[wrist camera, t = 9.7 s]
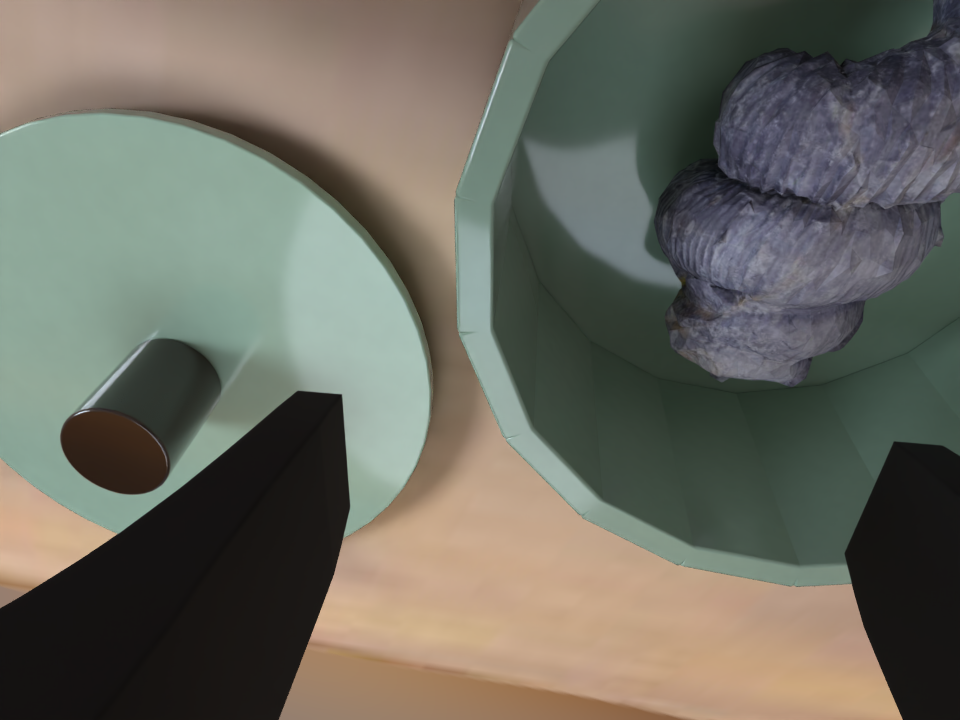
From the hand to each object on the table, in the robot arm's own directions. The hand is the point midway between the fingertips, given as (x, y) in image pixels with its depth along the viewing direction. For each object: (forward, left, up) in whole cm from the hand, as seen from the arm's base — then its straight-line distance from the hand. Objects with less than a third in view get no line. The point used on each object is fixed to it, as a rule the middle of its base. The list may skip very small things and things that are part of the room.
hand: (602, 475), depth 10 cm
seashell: (+4, +2, -9) cm, 10 cm away
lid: (-11, -4, -8) cm, 14 cm away
